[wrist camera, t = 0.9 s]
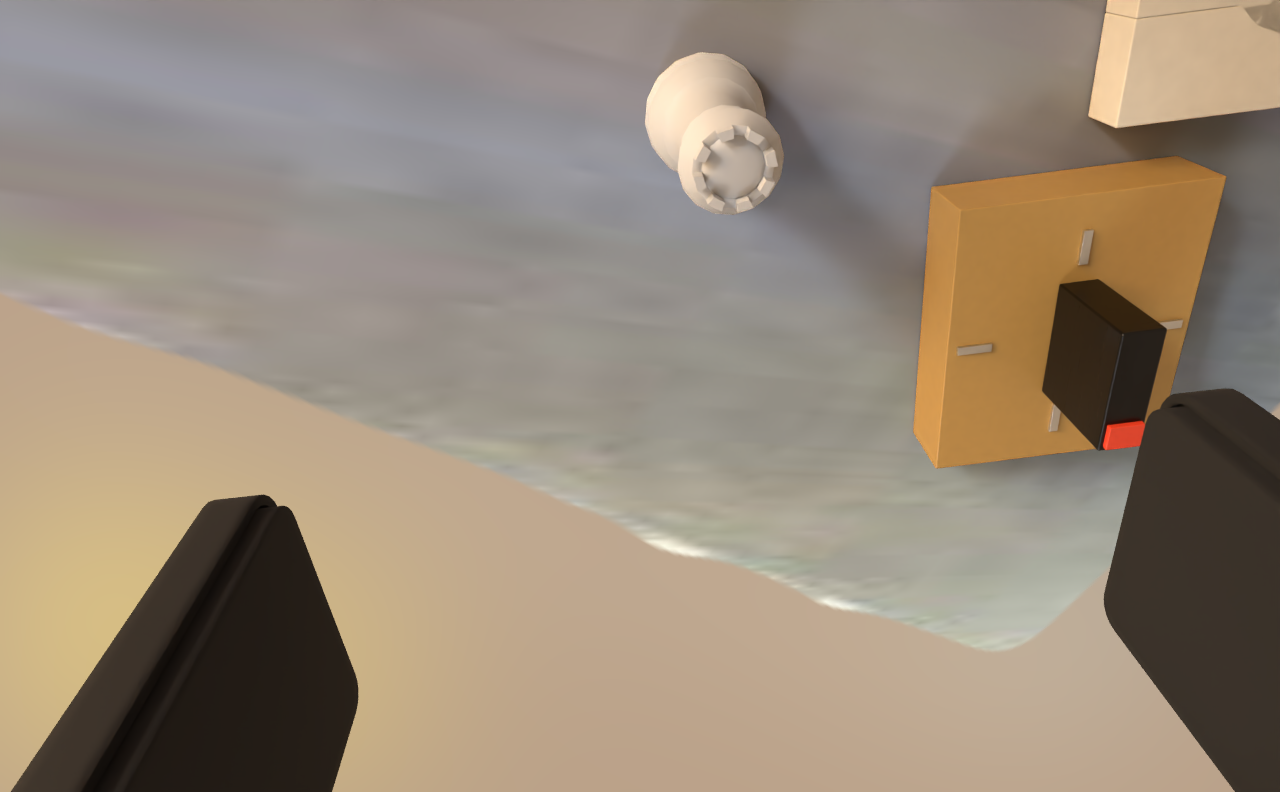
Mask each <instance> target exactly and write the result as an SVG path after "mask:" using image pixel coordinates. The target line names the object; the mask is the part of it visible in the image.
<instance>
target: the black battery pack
mask: <svg viewBox="0 0 1280 792" xmlns="http://www.w3.org/2000/svg"><path fill="white" fill-rule="evenodd" d="M1166 333H1167V328H1166V327H1164V326H1163V325H1162V324H1160V323H1159V322H1157V321H1156V320H1155V319H1153V318H1152V317H1150V316H1149V315H1148V314H1146V313H1145V312H1144V311H1142V310H1141V309H1139V308H1138V307H1137V306H1135V305H1134V304H1133V303H1131V302H1130V301H1128V300H1127V299H1126V298H1124V297H1123V296H1122V295H1120V294H1119V293H1117V292H1116V291H1115V290H1113V289H1112V288H1111V287H1109V286H1108V285H1106V284H1105V283H1104V282H1102V281H1101V280H1099V279H1094V280H1086V281H1078V282H1070V283H1062V284H1060V285H1059V290H1058V296H1057V302H1056V308H1055V314H1054V320H1053V326H1052V332H1051V338H1050V344H1049V350H1048V356H1047V362H1046V368H1045V374H1044V380H1043V386H1042V392H1043V393H1044V394H1045V395H1046V396H1047V397H1048V398H1049V399H1050V400H1051V402H1052V403H1053V404H1054V405H1055V406H1056V407H1057V408H1058V409H1059V410H1060V411H1061V412H1062V413H1063V414H1064V415H1065V416H1066V417H1067V419H1068V420H1069V421H1070V422H1071V423H1072V424H1073V425H1074V426H1075V427H1076V428H1077V429H1078V430H1079V431H1080V432H1081V433H1082V434H1083V435H1084V437H1085V438H1086V439H1087V440H1088V441H1089V442H1090V443H1091V444H1092V445H1093V446H1094V447H1095V448H1096V449H1097V450H1099V451H1100V450H1112V449H1120V448H1128V447H1136V446H1140V444H1141V440H1142V436H1143V432H1144V428H1145V423H1144V422H1145V418H1146V414H1147V410H1148V406H1149V402H1150V398H1151V394H1152V389H1153V385H1154V381H1155V377H1156V373H1157V369H1158V365H1159V361H1160V357H1161V353H1162V349H1163V345H1164V341H1165V337H1166Z"/></svg>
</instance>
